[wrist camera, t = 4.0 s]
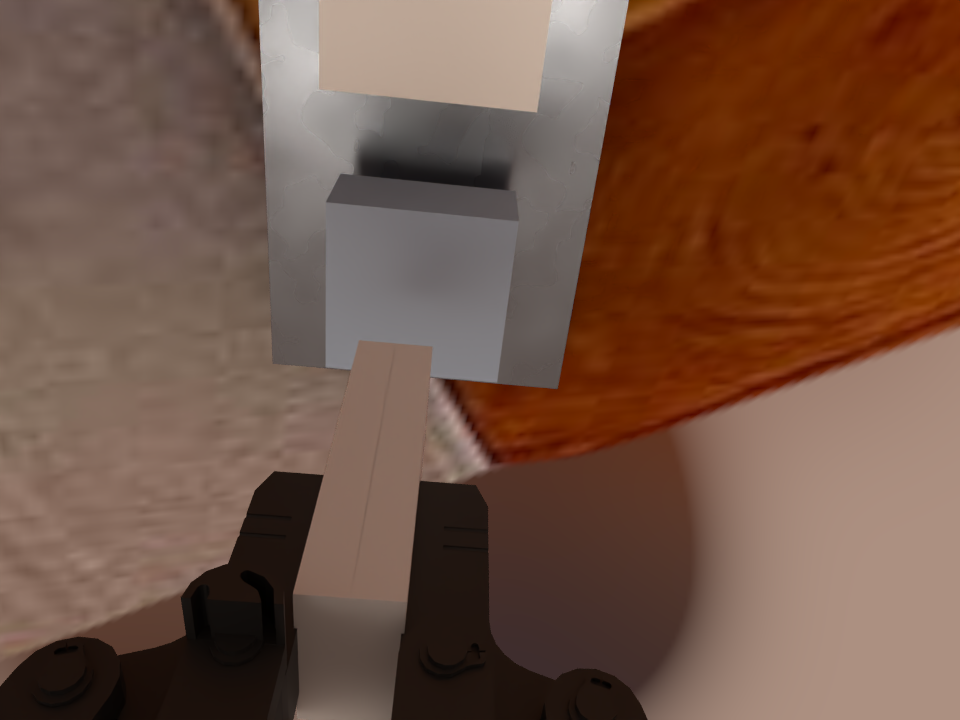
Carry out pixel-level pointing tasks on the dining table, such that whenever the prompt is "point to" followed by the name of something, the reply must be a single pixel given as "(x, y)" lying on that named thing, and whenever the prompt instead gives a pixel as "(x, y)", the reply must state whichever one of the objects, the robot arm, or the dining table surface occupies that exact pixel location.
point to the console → (438, 173)
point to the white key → (436, 50)
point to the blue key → (419, 271)
